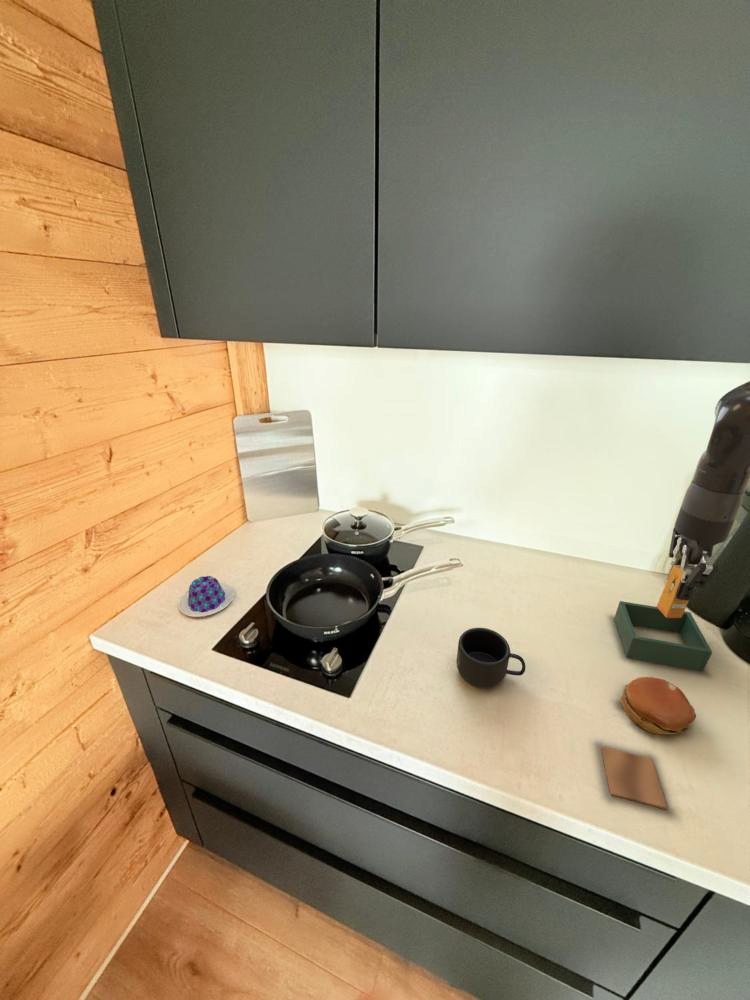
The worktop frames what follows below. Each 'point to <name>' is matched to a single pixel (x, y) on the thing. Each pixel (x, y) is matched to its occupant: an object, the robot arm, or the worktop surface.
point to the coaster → (633, 777)
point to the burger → (657, 706)
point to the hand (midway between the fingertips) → (677, 590)
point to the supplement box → (672, 595)
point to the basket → (659, 651)
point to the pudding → (205, 597)
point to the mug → (484, 658)
